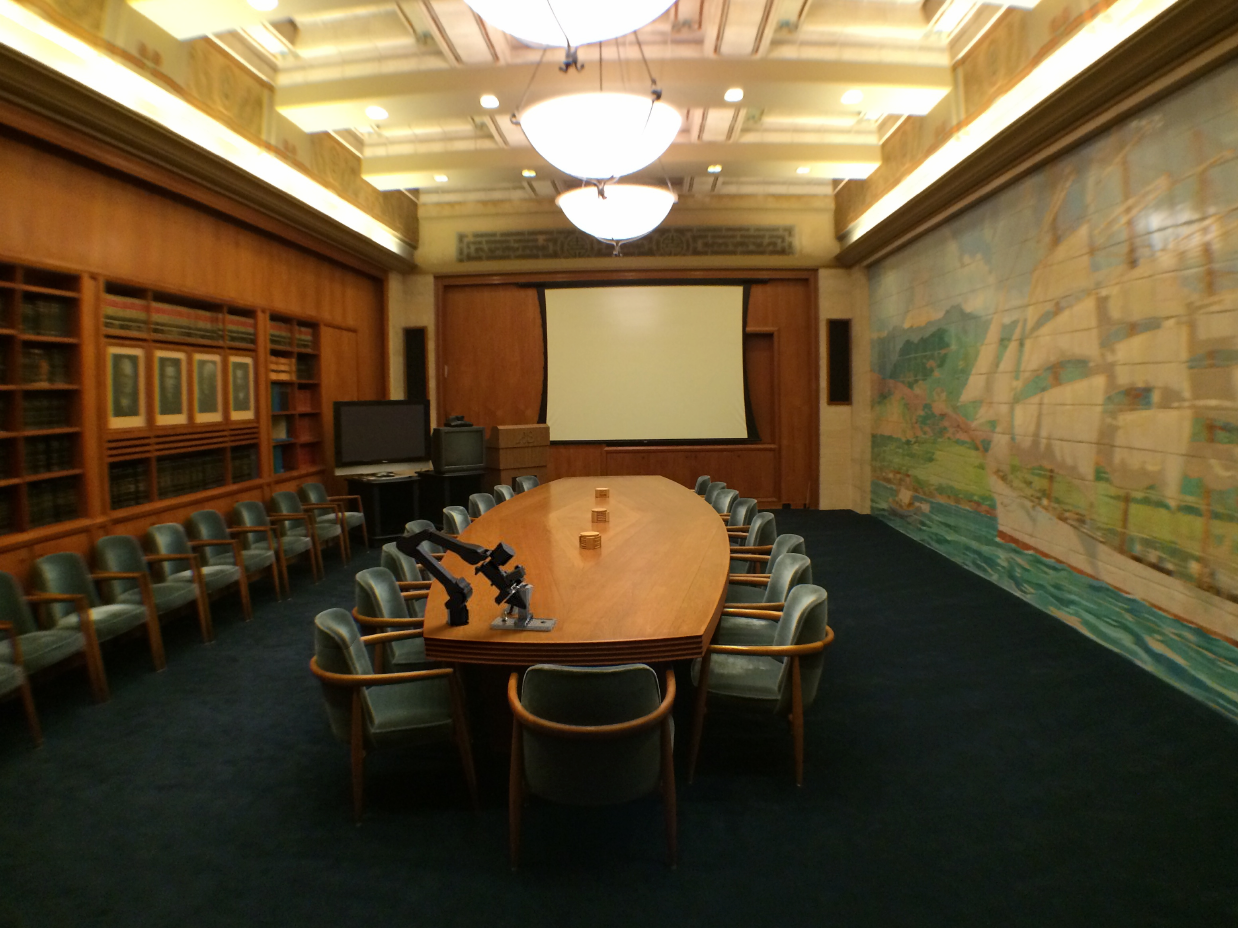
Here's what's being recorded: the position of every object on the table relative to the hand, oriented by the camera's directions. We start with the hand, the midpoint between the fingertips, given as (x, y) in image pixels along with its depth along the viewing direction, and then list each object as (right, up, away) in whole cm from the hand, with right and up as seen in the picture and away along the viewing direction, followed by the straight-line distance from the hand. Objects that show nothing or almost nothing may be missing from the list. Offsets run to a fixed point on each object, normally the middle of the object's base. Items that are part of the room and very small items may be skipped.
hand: (527, 607), depth 238 cm
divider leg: (-1, -6, +1) cm, 6 cm away
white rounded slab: (-6, -5, +21) cm, 22 cm away
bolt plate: (-1, -7, +1) cm, 7 cm away
